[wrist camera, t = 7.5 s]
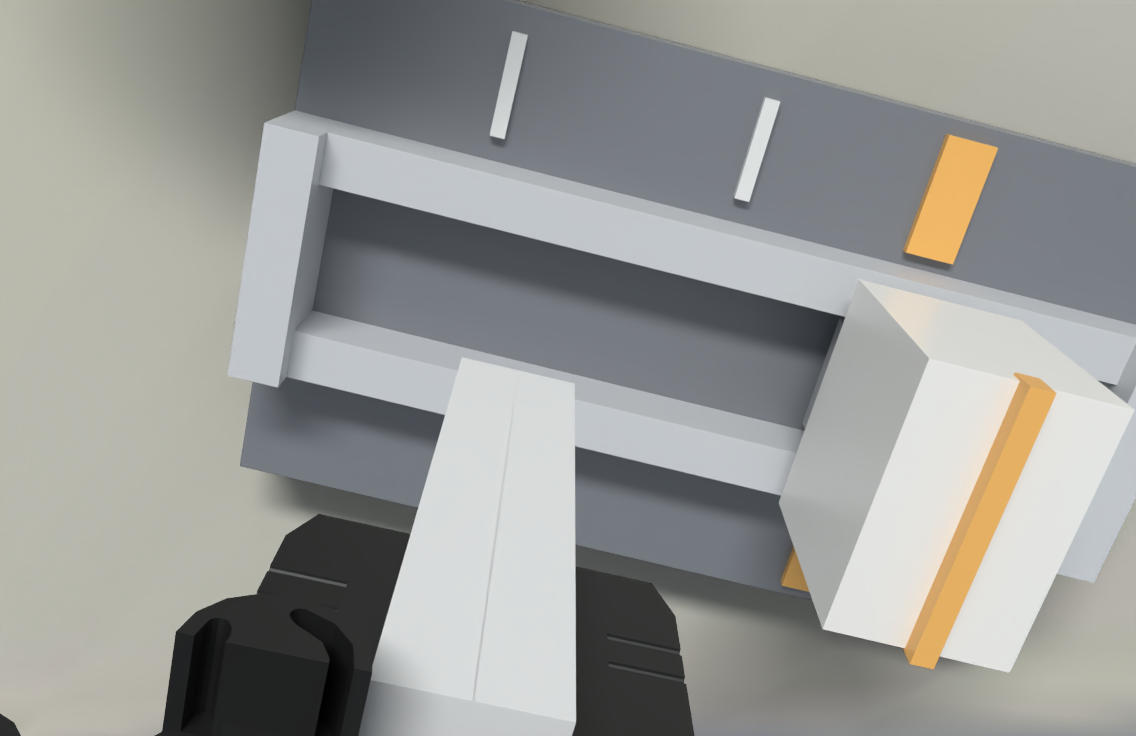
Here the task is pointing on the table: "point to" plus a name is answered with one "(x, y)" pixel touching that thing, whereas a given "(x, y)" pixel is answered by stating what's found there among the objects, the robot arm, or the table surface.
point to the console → (636, 262)
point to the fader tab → (943, 476)
